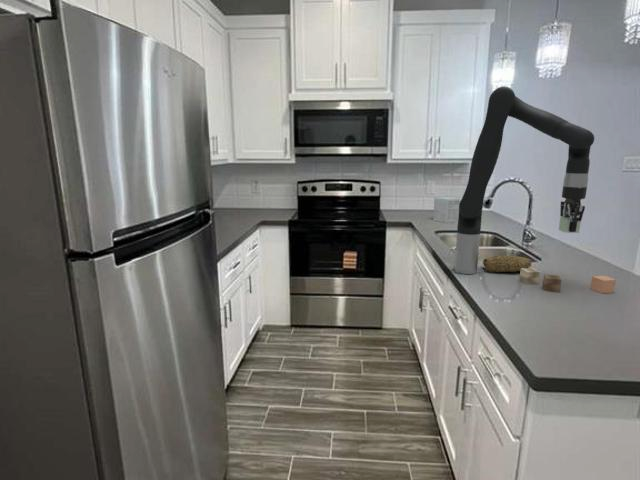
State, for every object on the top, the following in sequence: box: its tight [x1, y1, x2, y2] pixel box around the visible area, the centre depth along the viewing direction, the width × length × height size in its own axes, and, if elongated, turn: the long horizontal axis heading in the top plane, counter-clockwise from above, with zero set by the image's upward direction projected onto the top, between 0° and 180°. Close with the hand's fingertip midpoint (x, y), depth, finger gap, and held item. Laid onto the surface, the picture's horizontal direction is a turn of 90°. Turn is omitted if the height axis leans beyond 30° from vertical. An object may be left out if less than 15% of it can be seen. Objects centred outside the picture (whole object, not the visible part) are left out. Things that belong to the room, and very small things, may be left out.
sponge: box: [482, 254, 532, 273], centre depth 167 cm, size 13×8×20 cm
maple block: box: [519, 267, 541, 285], centre depth 153 cm, size 5×5×5 cm
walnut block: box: [542, 274, 562, 293], centre depth 144 cm, size 5×5×5 cm
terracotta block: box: [589, 275, 616, 294], centre depth 143 cm, size 5×5×5 cm
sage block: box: [558, 216, 582, 234], centre depth 146 cm, size 5×5×5 cm
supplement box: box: [432, 196, 461, 224], centre depth 286 cm, size 13×13×18 cm
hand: (568, 230), depth 147 cm, fingers closed on sage block, 5 cm apart
